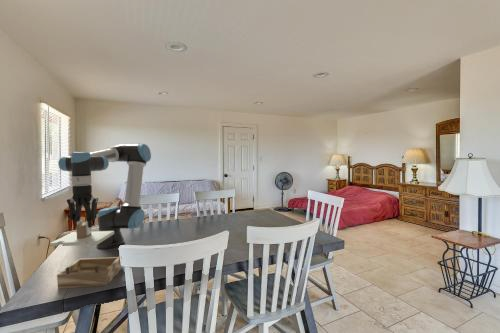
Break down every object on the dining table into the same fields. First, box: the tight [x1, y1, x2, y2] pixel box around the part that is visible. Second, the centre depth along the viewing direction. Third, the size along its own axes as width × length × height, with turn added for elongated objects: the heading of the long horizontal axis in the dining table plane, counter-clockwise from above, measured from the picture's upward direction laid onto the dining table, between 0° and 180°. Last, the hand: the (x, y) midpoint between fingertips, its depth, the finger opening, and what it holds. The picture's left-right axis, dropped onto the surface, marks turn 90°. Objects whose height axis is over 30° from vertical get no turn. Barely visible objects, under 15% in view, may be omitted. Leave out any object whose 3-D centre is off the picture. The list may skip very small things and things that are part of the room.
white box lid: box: [49, 222, 114, 247], centre depth 120 cm, size 16×20×8 cm
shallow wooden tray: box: [56, 256, 123, 289], centre depth 117 cm, size 16×20×8 cm
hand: (84, 234), depth 120 cm, fingers closed on white box lid, 3 cm apart
